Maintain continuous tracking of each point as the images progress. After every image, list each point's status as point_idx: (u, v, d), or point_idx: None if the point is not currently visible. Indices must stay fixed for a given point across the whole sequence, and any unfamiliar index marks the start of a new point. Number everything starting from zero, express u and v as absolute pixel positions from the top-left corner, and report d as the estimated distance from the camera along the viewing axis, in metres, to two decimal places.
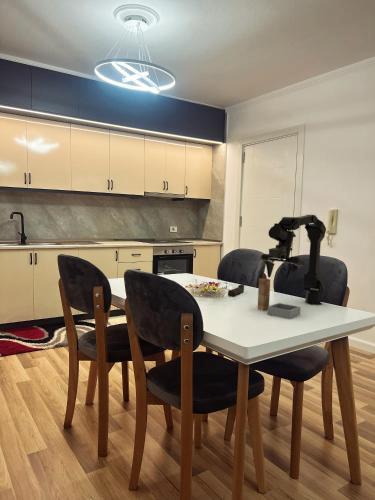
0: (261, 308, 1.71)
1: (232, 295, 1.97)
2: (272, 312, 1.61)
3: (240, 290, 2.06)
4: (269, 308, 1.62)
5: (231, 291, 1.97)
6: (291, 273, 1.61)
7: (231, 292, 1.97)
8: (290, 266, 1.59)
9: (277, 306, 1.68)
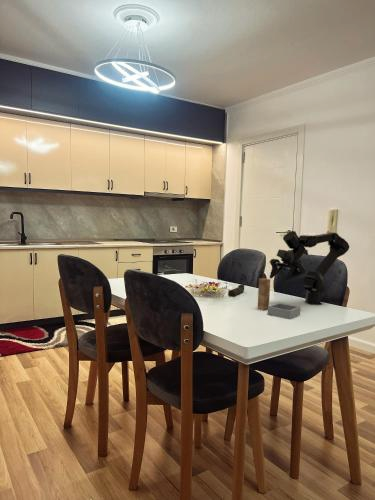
0: (261, 308, 1.71)
1: (232, 295, 1.97)
2: (272, 312, 1.61)
3: (240, 290, 2.06)
4: (269, 308, 1.62)
5: (231, 291, 1.97)
6: (290, 276, 1.71)
7: (231, 292, 1.97)
8: (291, 269, 1.71)
9: (277, 306, 1.68)
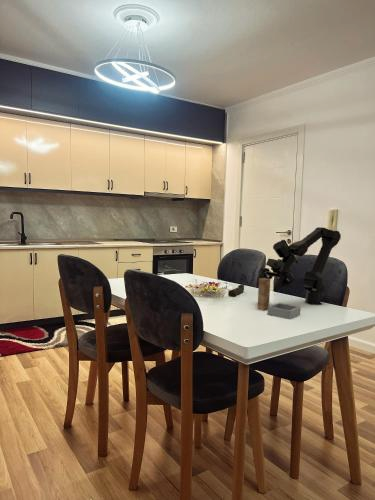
0: (261, 308, 1.71)
1: (232, 295, 1.97)
2: (272, 312, 1.61)
3: (240, 290, 2.06)
4: (269, 308, 1.62)
5: (231, 291, 1.97)
6: (279, 286, 1.69)
7: (231, 292, 1.97)
8: (281, 278, 1.68)
9: (277, 306, 1.68)
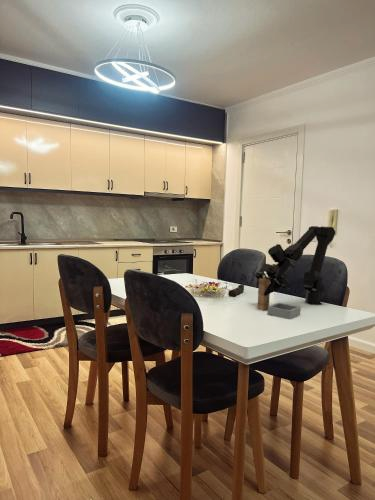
0: (261, 308, 1.71)
1: (232, 295, 1.97)
2: (272, 312, 1.61)
3: (240, 290, 2.06)
4: (269, 308, 1.62)
5: (231, 291, 1.97)
6: (270, 290, 1.69)
7: (231, 292, 1.97)
8: (271, 283, 1.69)
9: (277, 306, 1.68)
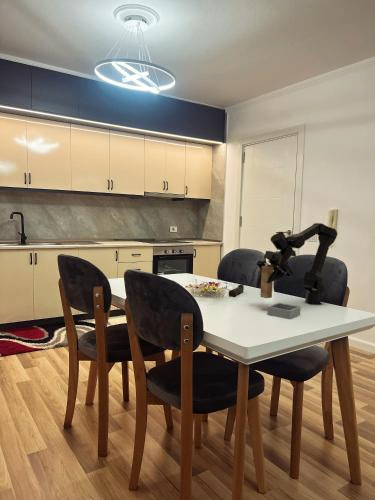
0: (264, 296, 1.69)
1: (233, 295, 1.97)
2: (272, 312, 1.61)
3: (240, 290, 2.06)
4: (269, 308, 1.62)
5: (232, 291, 1.97)
6: (274, 278, 1.68)
7: (232, 292, 1.97)
8: (275, 270, 1.67)
9: (277, 306, 1.68)
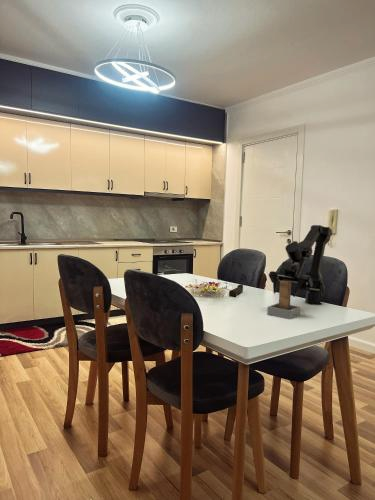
0: None
1: (233, 295, 1.97)
2: (272, 312, 1.61)
3: (240, 290, 2.06)
4: (269, 308, 1.62)
5: (232, 291, 1.97)
6: (298, 291, 1.60)
7: (232, 292, 1.97)
8: (300, 282, 1.59)
9: (277, 306, 1.68)
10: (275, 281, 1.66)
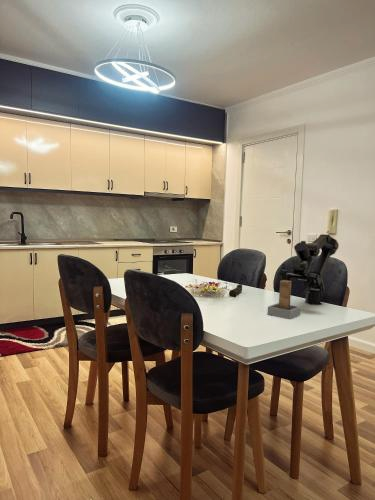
0: None
1: (233, 295, 1.97)
2: (272, 312, 1.61)
3: (239, 290, 2.06)
4: (269, 308, 1.62)
5: (232, 291, 1.97)
6: (307, 288, 1.67)
7: (232, 292, 1.97)
8: (308, 280, 1.67)
9: (277, 306, 1.68)
10: (284, 279, 1.74)
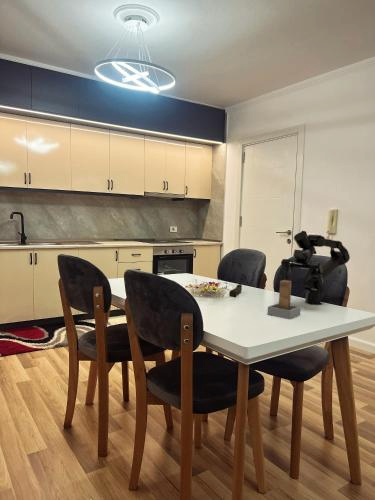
0: None
1: (234, 295, 1.97)
2: (272, 312, 1.61)
3: (239, 290, 2.06)
4: (269, 308, 1.62)
5: (233, 291, 1.97)
6: (310, 276, 1.72)
7: (233, 292, 1.97)
8: (311, 269, 1.72)
9: (277, 306, 1.68)
10: (287, 268, 1.79)
